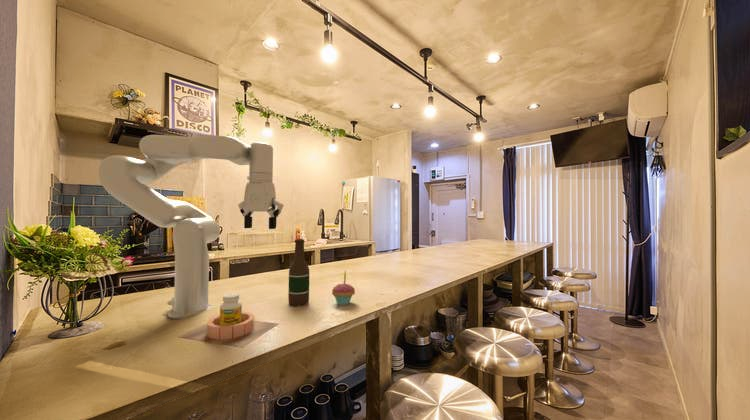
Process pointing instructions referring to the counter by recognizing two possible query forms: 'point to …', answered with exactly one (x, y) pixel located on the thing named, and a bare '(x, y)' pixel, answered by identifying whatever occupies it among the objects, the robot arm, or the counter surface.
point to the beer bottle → (298, 277)
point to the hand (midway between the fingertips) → (260, 228)
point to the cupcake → (343, 292)
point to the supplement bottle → (230, 310)
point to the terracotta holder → (230, 327)
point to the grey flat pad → (239, 341)
